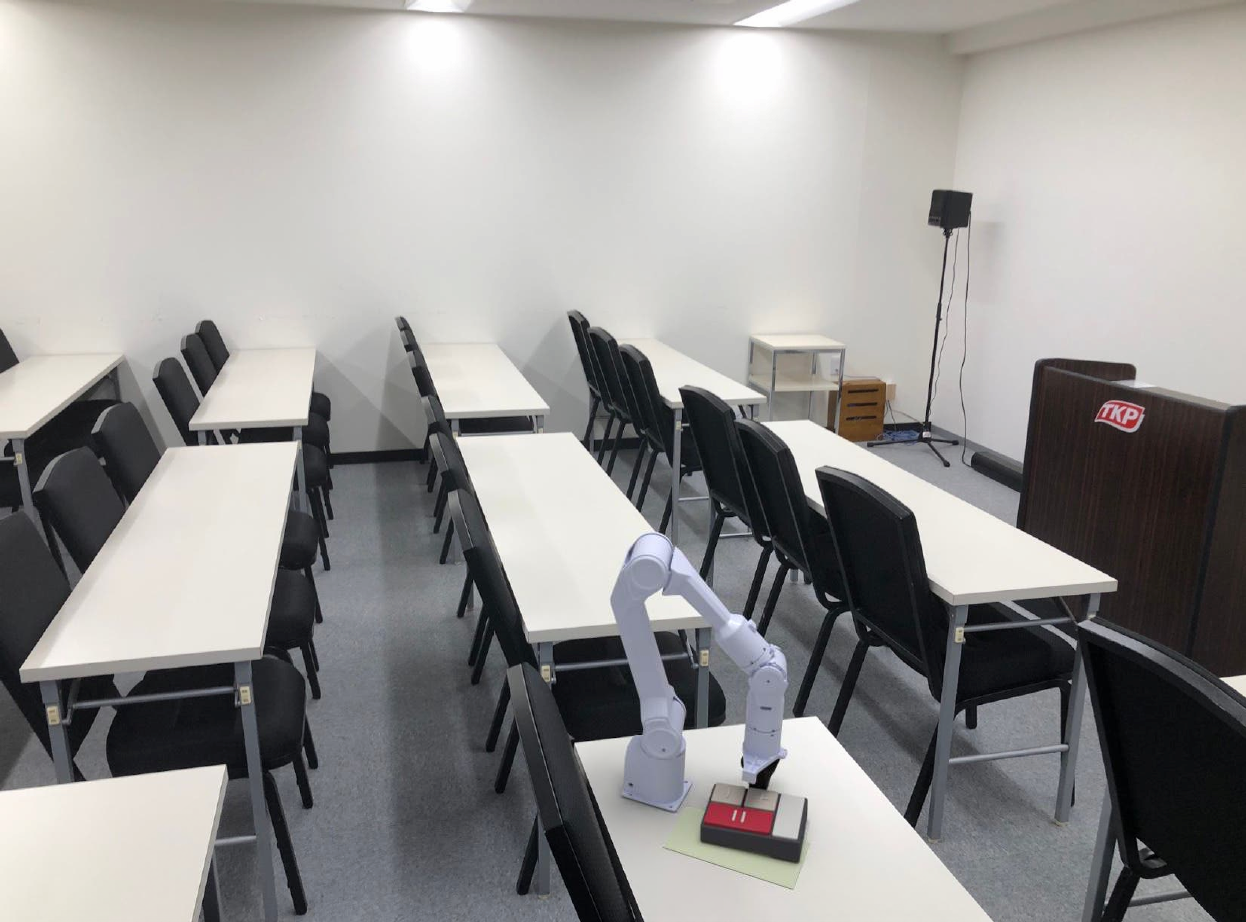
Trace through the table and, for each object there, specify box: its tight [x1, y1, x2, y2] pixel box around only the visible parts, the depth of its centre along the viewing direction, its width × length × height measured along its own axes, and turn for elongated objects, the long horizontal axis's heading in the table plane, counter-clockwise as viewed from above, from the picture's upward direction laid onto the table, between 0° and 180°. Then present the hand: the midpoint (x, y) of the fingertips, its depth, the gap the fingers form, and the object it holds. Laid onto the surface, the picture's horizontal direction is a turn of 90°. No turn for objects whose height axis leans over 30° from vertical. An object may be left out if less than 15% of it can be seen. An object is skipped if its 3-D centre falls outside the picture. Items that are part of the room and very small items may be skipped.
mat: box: [662, 805, 811, 890], centre depth 143 cm, size 20×10×1 cm, turn 66°
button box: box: [700, 782, 809, 862], centre depth 146 cm, size 11×4×15 cm
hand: (757, 795), depth 152 cm, fingers closed
